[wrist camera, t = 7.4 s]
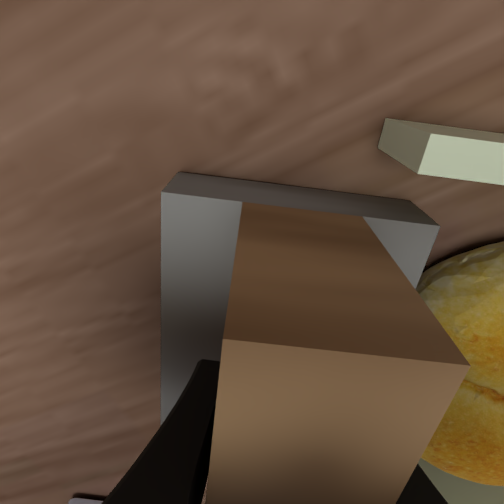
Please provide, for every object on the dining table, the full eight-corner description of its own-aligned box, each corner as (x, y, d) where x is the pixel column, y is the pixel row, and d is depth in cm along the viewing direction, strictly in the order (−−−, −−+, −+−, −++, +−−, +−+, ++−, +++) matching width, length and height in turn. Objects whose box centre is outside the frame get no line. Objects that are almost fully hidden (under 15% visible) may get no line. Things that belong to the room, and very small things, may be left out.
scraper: (334, 421, 15) (388, 667, 9) (172, 404, 15) (108, 645, 8) (409, 200, 10) (629, 383, 4) (178, 171, 10) (51, 320, 4)
